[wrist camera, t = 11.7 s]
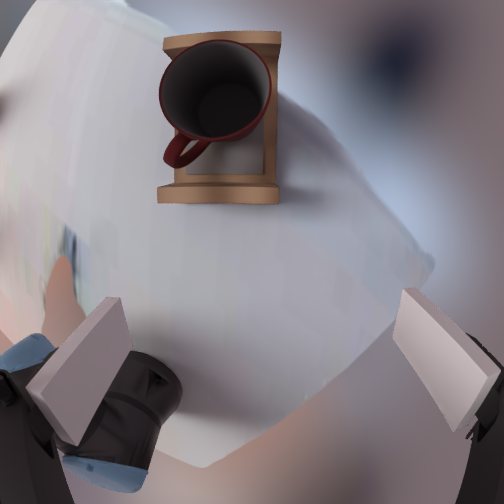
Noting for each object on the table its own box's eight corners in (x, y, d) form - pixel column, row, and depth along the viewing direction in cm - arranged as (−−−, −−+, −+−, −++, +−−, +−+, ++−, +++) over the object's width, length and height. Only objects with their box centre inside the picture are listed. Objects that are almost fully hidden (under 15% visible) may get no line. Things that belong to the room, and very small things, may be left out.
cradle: (177, 201, 33) (158, 212, 27) (182, 53, 27) (164, 31, 20) (274, 202, 33) (278, 213, 26) (277, 50, 27) (281, 25, 20)
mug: (224, 185, 31) (206, 196, 21) (163, 146, 30) (119, 142, 19) (282, 101, 28) (294, 72, 17) (218, 65, 27) (200, 24, 16)
